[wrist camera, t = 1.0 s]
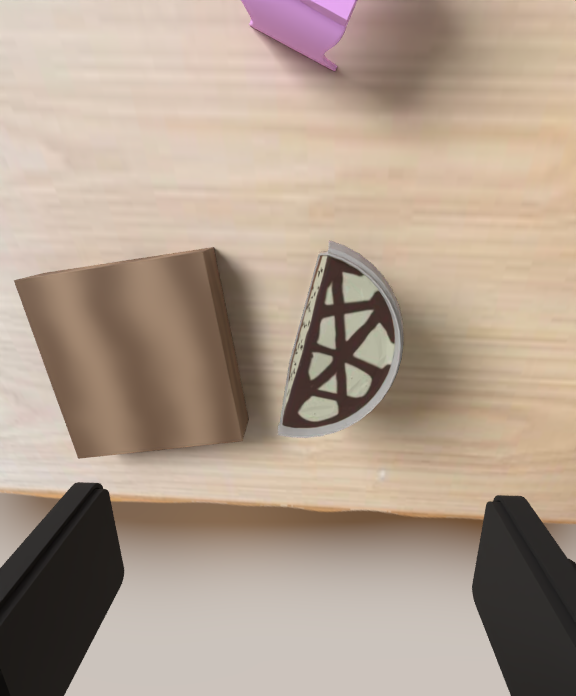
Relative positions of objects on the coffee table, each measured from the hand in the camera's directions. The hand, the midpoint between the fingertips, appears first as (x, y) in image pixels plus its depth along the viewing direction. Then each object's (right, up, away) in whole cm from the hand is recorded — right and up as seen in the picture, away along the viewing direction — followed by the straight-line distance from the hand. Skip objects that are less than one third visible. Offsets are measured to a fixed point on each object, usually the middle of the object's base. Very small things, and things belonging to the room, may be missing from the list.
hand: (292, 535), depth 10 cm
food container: (+4, +7, +23) cm, 24 cm away
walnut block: (-12, +5, +25) cm, 28 cm away
